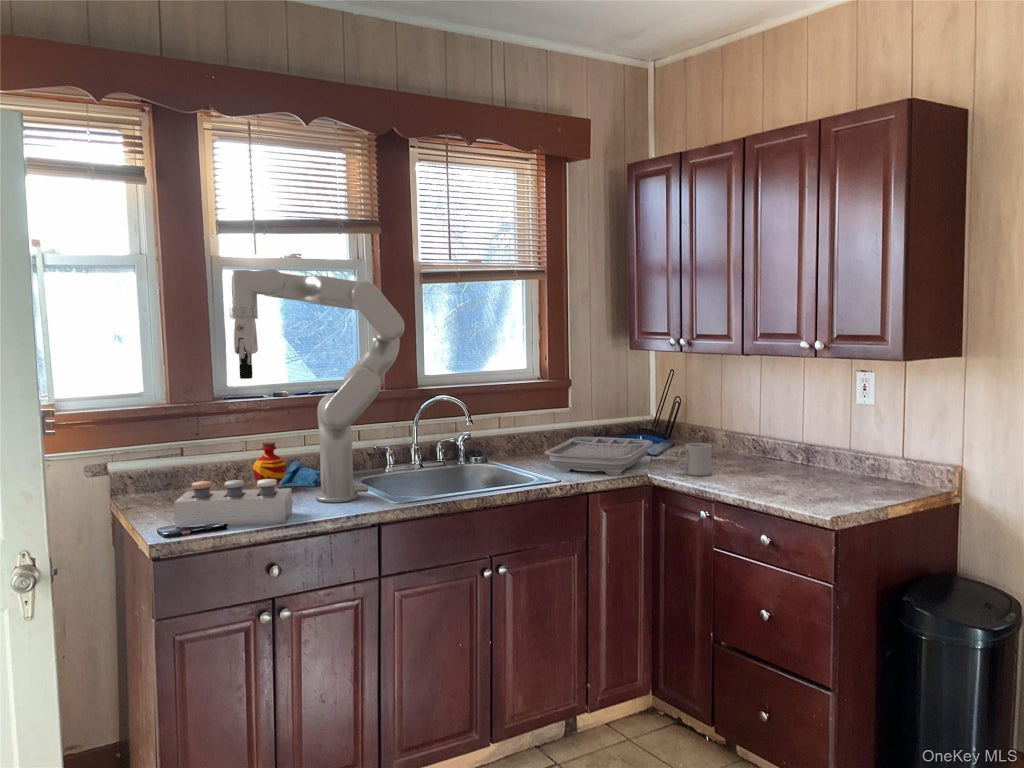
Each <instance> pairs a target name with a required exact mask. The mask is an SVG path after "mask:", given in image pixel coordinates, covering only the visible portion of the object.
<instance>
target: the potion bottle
mask: <svg viewBox="0 0 1024 768" xmlns="http://www.w3.org/2000/svg"><path fill="white" fill-rule="evenodd" d="M261 444H262V447H261V451H264V453H263V454H262V456H261V457H260V458H258V459H257V458H256V460H255V461H254V463H253V466H252V470H253V476H254V479H255V480H256V481H259V480H263V479H275V480H277V484H276V485H275V486H277V487H278V485H279V483H281V482H282V480H283V479H284V478H285V477H287V466H286V464H287V463H286V461H285V460H284V459H283V457H282V456H279V455H276V454H275V450H276V449H277V447H276V442H275V441H265V442H262V443H261Z"/></svg>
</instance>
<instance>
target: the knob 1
mask: <svg viewBox="0 0 1024 768" xmlns="http://www.w3.org/2000/svg"><path fill="white" fill-rule="evenodd" d="M212 485H213V484H212V481H209V480H200V481H194V482H191V488H192V489H193V491H194V498H210V491H211V487H212Z"/></svg>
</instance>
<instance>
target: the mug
mask: <svg viewBox="0 0 1024 768" xmlns="http://www.w3.org/2000/svg"><path fill="white" fill-rule="evenodd" d="M682 452H685V465H684V466H681V464H682V463H683V462H684V457H683V456H682V455H681V453H682ZM712 452H713V445H712V444H710V443H703V442H690V443H686V444H685V445H684V448H681V449H679V450H678V451H677V457H678V458H679V459H680V460H679V461H678V462H677V467H678V469H679V470H681V471H684V472H685V475H688V476H694V477H706V476H711V475H712V474H713V464H712Z"/></svg>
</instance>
